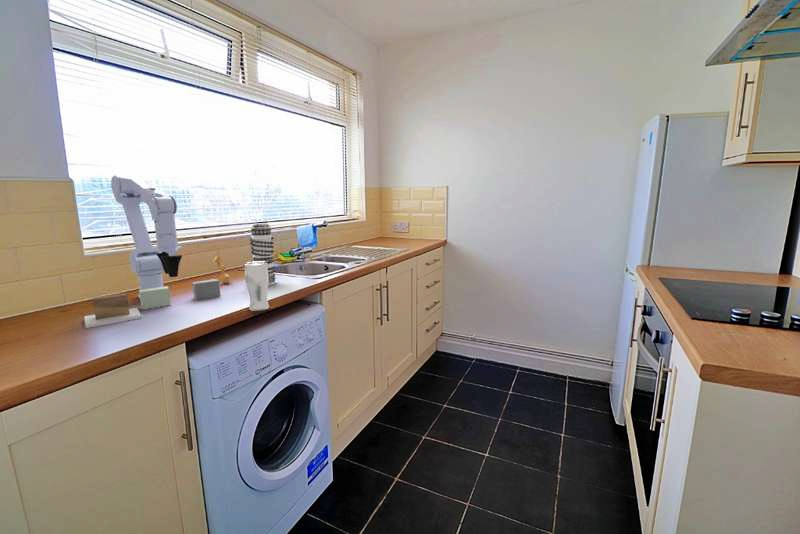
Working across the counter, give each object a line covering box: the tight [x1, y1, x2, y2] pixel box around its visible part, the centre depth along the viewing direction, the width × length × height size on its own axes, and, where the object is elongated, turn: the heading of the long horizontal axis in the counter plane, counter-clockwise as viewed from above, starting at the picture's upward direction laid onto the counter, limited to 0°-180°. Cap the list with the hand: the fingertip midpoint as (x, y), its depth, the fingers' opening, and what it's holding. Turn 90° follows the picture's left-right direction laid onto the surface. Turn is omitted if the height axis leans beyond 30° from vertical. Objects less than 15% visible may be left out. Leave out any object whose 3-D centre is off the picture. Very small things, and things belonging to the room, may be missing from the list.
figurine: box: [212, 254, 232, 285], centre depth 157 cm, size 8×6×12 cm
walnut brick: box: [92, 292, 130, 320], centre depth 112 cm, size 4×8×6 cm, turn 129°
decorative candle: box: [249, 222, 276, 286], centre depth 155 cm, size 9×9×25 cm
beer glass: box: [244, 261, 270, 312], centre depth 121 cm, size 7×7×15 cm
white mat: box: [84, 307, 142, 329], centre depth 113 cm, size 10×13×1 cm
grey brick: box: [191, 278, 221, 301], centre depth 136 cm, size 4×8×6 cm, turn 131°
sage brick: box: [138, 285, 172, 310], centre depth 125 cm, size 4×8×6 cm, turn 131°
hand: (171, 275), depth 125 cm, fingers open, 7 cm apart
